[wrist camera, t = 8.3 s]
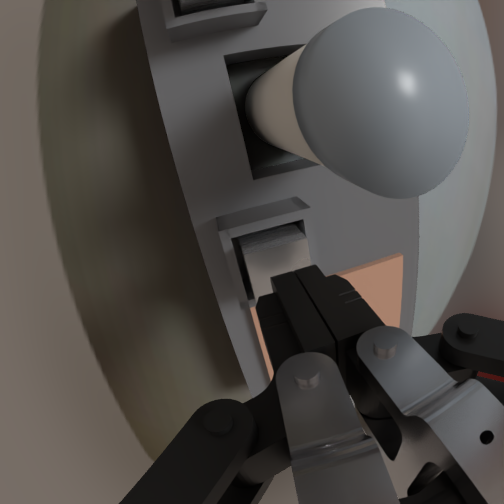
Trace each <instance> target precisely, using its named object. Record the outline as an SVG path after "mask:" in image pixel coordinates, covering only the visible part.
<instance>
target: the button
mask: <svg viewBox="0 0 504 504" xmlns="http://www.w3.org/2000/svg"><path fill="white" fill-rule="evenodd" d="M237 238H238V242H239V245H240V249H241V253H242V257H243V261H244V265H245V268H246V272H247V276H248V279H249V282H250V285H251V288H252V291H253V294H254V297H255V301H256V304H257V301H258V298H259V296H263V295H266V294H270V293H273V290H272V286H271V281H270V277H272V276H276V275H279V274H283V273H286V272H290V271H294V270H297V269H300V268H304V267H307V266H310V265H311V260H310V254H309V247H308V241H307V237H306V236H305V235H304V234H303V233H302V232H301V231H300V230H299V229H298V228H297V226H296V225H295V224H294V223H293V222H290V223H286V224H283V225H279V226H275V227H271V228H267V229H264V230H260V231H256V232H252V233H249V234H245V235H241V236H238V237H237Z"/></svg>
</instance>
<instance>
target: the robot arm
mask: <svg viewBox="0 0 504 504" xmlns="http://www.w3.org/2000/svg"><path fill="white" fill-rule="evenodd" d="M270 281H271V286H272V290H273V293H270V294H266V295H263V296H259V298H258V301H257V304H256V307H255V309H256V313H257V317H258V320H259V324H260V328H261V331H262V335H263V339H264V342H265V346H266V349H267V352H268V355H269V359H270V362H271V365H272V368H273V372H274V374H273V378H272V380H271V382H270V384H269V385H268V387H267V388H266V389H265V390H264V391H263V392H262V393H260V394H259V395H257V396H256V397H254V398H252V399H250V400H249V401H247V402H245V403H241V402H239V401H236V400H232V399H219V400H214V401H211V402H209V403H206V404H205V405H203V406H201V407H200V408H199V409H198V410H197V411H196V412H195V413H194V414H193V415H192V416H191V418H190V419H189V420H188V421H187V423H186V424H185V425H184V427H183V428H182V429H181V430H180V432H179V433H178V434H177V435H176V437H175V438H174V439H173V440H172V441H171V443H170V444H169V445H168V446H167V448H166V449H165V450H164V451H163V453H162V454H161V455H160V456H159V457H158V459H157V460H156V461H155V462H154V463H153V465H152V466H151V467H150V468H149V469H148V471H147V472H146V473H145V474H144V475H143V476H142V478H141V479H140V480H139V481H138V482H137V484H136V485H135V486H134V487H133V488H132V489H131V490H130V492H129V493H128V494H127V495H126V496H125V497H124V499H123V500H122V501H121V502H120V503H119V504H258V503H259V501H260V500H261V498H262V496H263V495H264V493H265V491H266V490H267V488H268V486H269V485H270V483H271V481H272V480H273V477H274V475H276V474H278V473H280V472H281V471H283V470H285V469H286V468H288V467H289V466H292V472H293V477H294V482H295V487H296V492H297V496H298V501H299V504H504V382H500V381H496V380H492V379H487V378H484V377H479V376H477V374H478V371H480V372H484V373H488V374H493V375H497V376H501V377H504V321H501V320H496V319H491V318H487V317H483V316H478V315H474V314H468V313H462V314H456V315H453V316H451V317H450V318H449V319H447V320H446V321H445V323H444V325H443V329H442V333H438V334H432V335H426V336H420V337H411V336H410V335H409V334H408V333H407V332H406V331H404V330H402V329H400V328H398V327H394V326H386V325H385V324H384V323H383V321H382V320H381V319H380V318H379V316H378V315H377V314H376V313H375V312H374V311H373V309H372V308H371V307H370V306H369V305H368V303H367V302H366V301H365V300H364V299H362V296H361V295H360V294H359V293H358V292H357V291H356V290H355V288H354V287H353V286H352V285H351V283H350V282H349V281H348V280H346V279H344V278H342V277H340V276H338V275H336V274H334V275H330V276H327V277H326V276H325V275H324V274H323V273H322V271H321V270H320V269H319V267H318V266H317V265H316V264H314V265H310V266H307V267H304V268H300V269H297V270H294V271H290V272H286V273H283V274H279V275H276V276H272V277H270ZM349 395H351V397H352V399H353V401H354V403H355V408H354V406H353V403H352V401H351V398H350V396H349ZM363 430H364V431H365V433H366V434H367V435H366V434H365V433H364V431H363ZM397 496H398V497H397ZM398 498H399V499H398Z"/></svg>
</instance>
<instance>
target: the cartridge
mask: <svg viewBox="0 0 504 504" xmlns="http://www.w3.org/2000/svg"><path fill="white" fill-rule="evenodd" d="M245 113H246V118H247V120H248V123H249V125H250V127H251V129H252V130H253V132H254V133H255V134H256V135H257V136H258V137H259V138H260V139H261V140H263V141H264V142H266V143H268V144H270V145H272V146H275V147H278V148H280V149H283V150H285V151H288V152H291V153H293V154H296V155H298V156H301V157H303V158H305V159H308V160H310V161H313V162H315V163H318V164H320V165H322V166H325V167H327V168H328V169H329V170H331V171H332V172H333V173H334V174H336V175H338V176H339V177H341V178H343V179H344V180H347V181H349V182H351V183H353V184H355V185H357V186H359V187H361V188H363V189H365V190H367V191H369V192H371V193H373V194H376V195H379V196H382V197H386V198H393V199H407V198H412V197H417V196H419V195H422V194H425V193H427V192H429V191H430V190H432V189H434V188H435V187H436V186H438V185H439V184H440V183H441V182H442V181H443V180H444V179H445V178H446V177H447V176H448V175H449V174H450V173H451V171H452V170H453V169H454V167H455V165H456V164H457V162H458V160H459V158H460V156H461V154H462V151H463V149H464V145H465V142H466V138H467V133H468V126H469V103H468V95H467V90H466V86H465V82H464V79H463V76H462V73H461V71H460V68H459V66H458V64H457V62H456V60H455V58H454V57H453V55H452V53H451V52H450V50H449V49H448V47H447V46H446V45H445V43H444V42H443V41H442V40H441V39H440V37H439V36H438V35H437V34H436V33H435V32H434V31H433V30H431V29H430V28H429V27H428V26H426V25H425V24H424V23H423V22H421V21H419V20H418V19H416V18H414V17H413V16H411V15H408V14H406V13H404V12H401V11H398V10H394V9H390V8H383V7H370V8H364V9H360V10H357V11H354V12H351V13H349V14H347V15H346V16H344V17H342V18H340V19H339V20H337V21H335V22H334V23H332V24H331V25H329V26H327V27H326V28H324V29H323V30H321V31H320V32H319V33H317V34H316V35H315V36H314V37H313V38H312V39H311V40H310V41H309V43H308V44H306V45H305V46H303V47H301V48H300V49H298V50H297V51H295V52H294V53H292V54H291V55H289V56H288V57H286V58H285V59H284V60H282V61H281V62H279V63H278V64H276V65H275V66H274V67H272V68H271V69H269V70H268V71H267V72H265V73H264V74H262V75H261V76H260V77H258V78H257V79H256V80H255V81H254V83H253V84H252V85H251V87H250V89H249V91H248V93H247V96H246V100H245Z"/></svg>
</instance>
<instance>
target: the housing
mask: <svg viewBox="0 0 504 504" xmlns="http://www.w3.org/2000/svg"><path fill="white" fill-rule="evenodd" d="M136 2H137V8H138V13H139V18H140V23H141V28H142V32H143V37H144V42H145V46H146V51H147V55H148V60H149V64H150V69H151V73H152V77H153V81H154V85H155V90H156V94H157V98H158V102H159V106H160V110H161V114H162V118H163V122H164V125H165V129H166V133H167V137H168V141H169V144H170V148H171V152H172V155H173V159H174V163H175V166H176V170H177V173H178V177H179V180H180V184H181V187H182V191H183V194H184V197H185V201H186V204H187V208H188V211H189V214H190V218H191V221H192V224H193V227H194V231H195V234H196V237H197V240H198V244H199V247H200V250H201V253H202V256H203V259H204V262H205V265H206V269H207V272H208V275H209V278H210V281H211V284H212V287H213V290H214V293H215V296H216V299H217V302H218V305H219V307H220V310H221V313H222V316H223V319H224V322H225V325H226V328H227V330H228V333H229V336H230V339H231V342H232V344H233V347H234V350H235V353H236V356H237V358H238V361H239V364H240V366H241V369H242V372H243V374H244V377H245V380H246V382H247V385H248V388H249V390H250V393H251V396H252V398H254V397H256V396H257V395H259V394H260V393H262V392H263V391H264V390H265V389H266V388H267V387H268V385H269V384H270V382H271V380H272V378H273V374H274V372H273V368H272V365H271V362H270V359H269V355H268V352H267V349H266V346H265V342H264V339H263V335H262V331H261V328H260V324H259V320H258V317H257V313H256V309H255V307H256V301H255V297H254V294H253V291H252V288H251V285H250V282H249V279H248V276H247V272H246V268H245V265H244V261H243V257H242V253H241V249H240V245H239V242H238V238H237V237H238V236H241V235H245V234H249V233H252V232H256V231H260V230H264V229H267V228H271V227H275V226H279V225H283V224H286V223H290V222H293V223H294V224H295V225H296V226H297V228H298V229H299V230H300V231H301V232H302V233H303V234H304V235H305V236H306V237H307V241H308V247H309V254H310V260H311V265H314V264H316V265H317V266H318V267H319V269H320V270H321V271H322V273H323V274H324V275H325V276H326V277H327V276H330V275H334V274H336V275H338V276H340V277H342V278H344V279H346V280H348V281H349V282H350V283H351V285H352V286H353V287H354V288H355V290H356V291H357V292H358V293H359V294H360V295H361V296H362V299H364V300H365V301H366V302H367V303H368V305H369V306H370V307H371V308H372V309H373V311H374V312H375V313H376V314H377V315H378V316H379V318H380V319H381V320H382V321H383V323H384V324H385V325H386V326H394V327H398V328H400V329H402V330H404V331H406V332H407V333H408V334H409V335H410V336H411V335H412V328H413V320H414V311H415V301H416V290H417V276H418V256H419V196H417V197H412V198H407V199H393V198H386V197H382V196H379V195H376V194H373V193H371V192H369V191H367V190H365V189H363V188H361V187H359V186H357V185H355V184H353V183H351V182H349V181H347V180H344V179H343V178H341V177H339V176H338V175H336V174H334V173H333V172H332V171H331V170H329V169H328V168H327V167H325V166H322V165H320V164H318V163H315V162H313V161H310V160H308V159H301V160H296V161H292V162H287V163H283V164H278V165H274V166H269V167H265V168H261V169H257V170H253V171H251V169H250V165H249V160H248V156H247V152H246V147H245V143H244V139H243V135H242V130H241V126H240V122H239V118H238V114H237V109H236V105H235V101H234V97H233V93H232V89H231V85H230V81H229V77H228V72H227V68H226V65H229V64H234V63H240V62H245V61H251V60H257V59H263V58H270V57H277V56H285V55H291V54H292V53H294V52H295V51H297V50H298V49H300V48H301V47H303V46H305V45H306V44H308V43H309V41H310V40H311V39H312V38H313V37H314V36H315V35H316V34H317V33H319V32H320V31H321V30H323V29H324V28H326V27H327V26H329V25H331V24H332V23H334V22H335V21H337V20H339V19H340V18H342V17H344V16H346V15H347V14H349V13H351V12H354V11H357V10H360V9H364V8H370V7H383V8H387V7H386V4H385V1H384V0H244V3H243V4H242V5H235V6H228V7H222V8H217V9H211V10H206V11H201V12H197V13H192V14H188V15H184V16H182V14H181V10H180V5H179V1H178V0H136Z"/></svg>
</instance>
